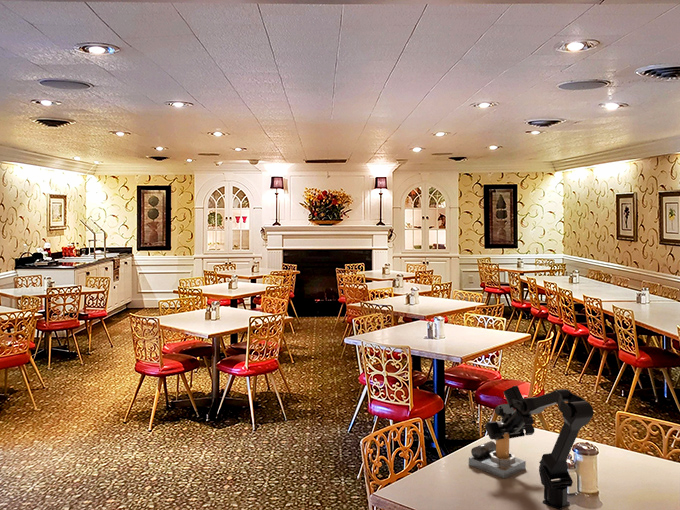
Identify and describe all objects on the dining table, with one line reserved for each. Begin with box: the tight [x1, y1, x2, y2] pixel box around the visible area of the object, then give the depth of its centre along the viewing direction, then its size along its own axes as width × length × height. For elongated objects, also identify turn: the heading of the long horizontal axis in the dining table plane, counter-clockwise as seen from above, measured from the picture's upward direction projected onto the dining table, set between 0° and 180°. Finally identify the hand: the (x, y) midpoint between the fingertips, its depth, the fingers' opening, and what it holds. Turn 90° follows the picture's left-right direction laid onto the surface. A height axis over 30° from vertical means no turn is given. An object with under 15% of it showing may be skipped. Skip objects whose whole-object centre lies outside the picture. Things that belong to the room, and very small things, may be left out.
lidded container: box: [495, 420, 510, 459], centre depth 220 cm, size 5×5×13 cm
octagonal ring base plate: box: [468, 440, 527, 479], centre depth 220 cm, size 16×14×7 cm
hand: (500, 438), depth 222 cm, fingers closed on lidded container, 5 cm apart
